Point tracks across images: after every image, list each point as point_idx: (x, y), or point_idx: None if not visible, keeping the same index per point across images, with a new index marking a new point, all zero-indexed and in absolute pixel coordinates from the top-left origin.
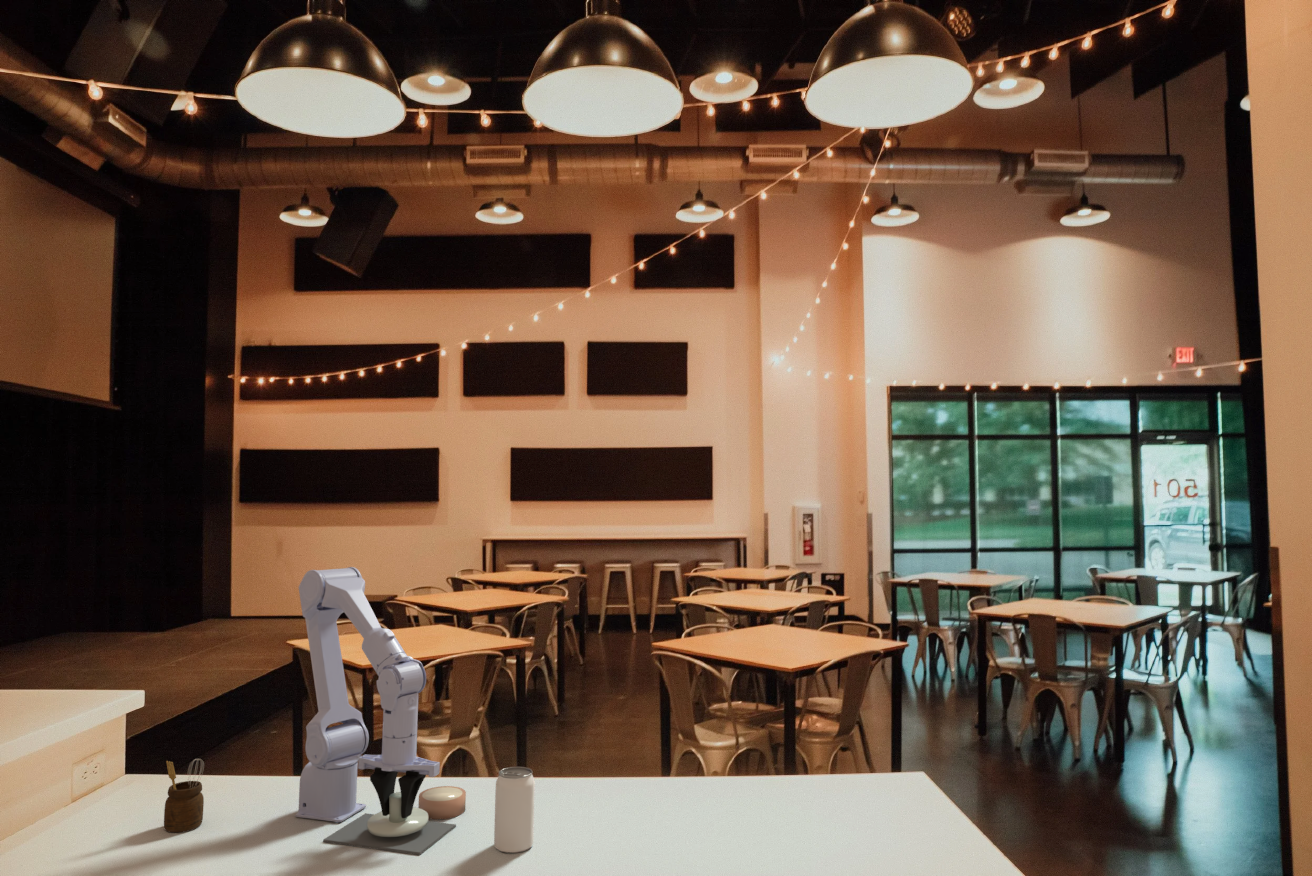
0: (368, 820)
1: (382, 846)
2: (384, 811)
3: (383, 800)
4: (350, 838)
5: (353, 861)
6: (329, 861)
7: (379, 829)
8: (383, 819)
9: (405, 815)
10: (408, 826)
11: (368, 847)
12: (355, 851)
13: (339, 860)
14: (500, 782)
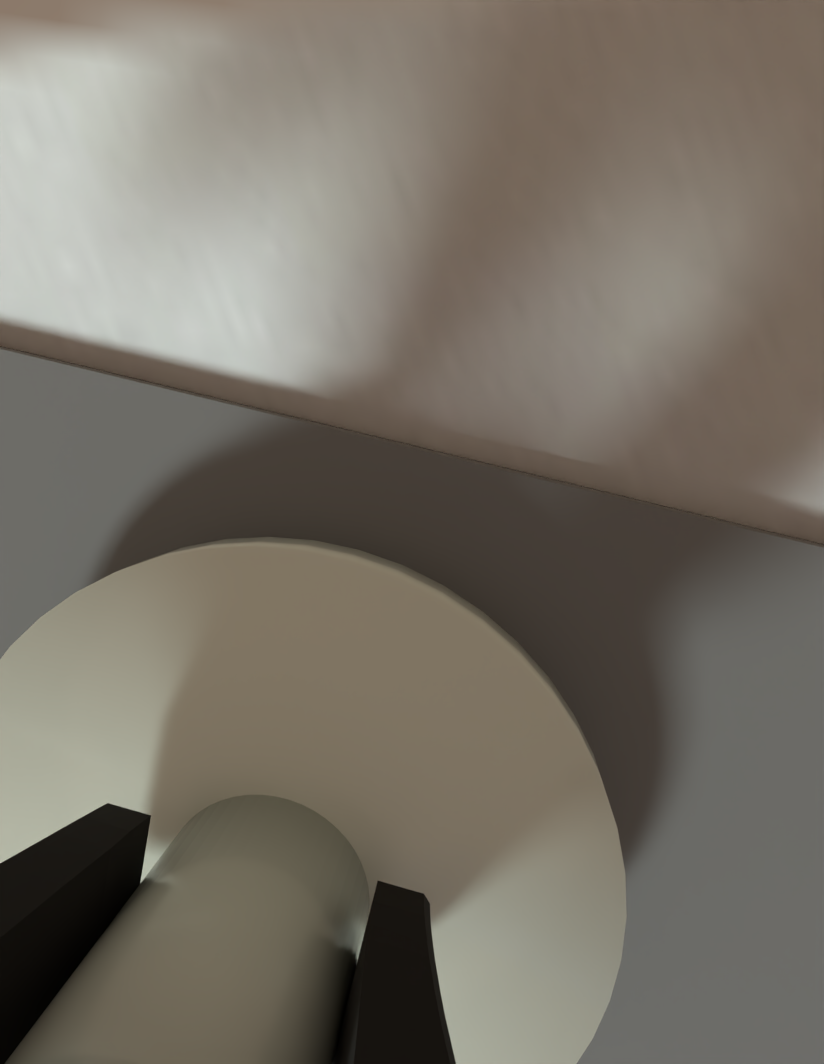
0: (618, 869)
1: (319, 445)
2: (387, 918)
3: (366, 1057)
4: (741, 637)
5: (519, 99)
6: (804, 66)
7: (389, 620)
8: (437, 887)
9: (79, 822)
10: (73, 694)
11: (477, 461)
12: (587, 367)
13: (691, 109)
14: None
